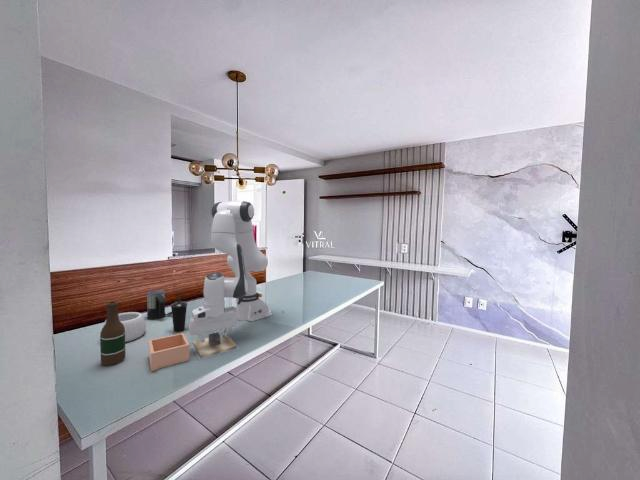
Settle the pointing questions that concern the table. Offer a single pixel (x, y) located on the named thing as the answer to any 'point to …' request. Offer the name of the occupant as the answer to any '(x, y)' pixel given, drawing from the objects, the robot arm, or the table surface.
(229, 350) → the slate mat
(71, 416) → the table surface
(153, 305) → the milk frother
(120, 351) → the beer bottle
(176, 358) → the open square planter box
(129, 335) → the mug
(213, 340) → the birch lid
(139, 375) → the table surface
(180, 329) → the drinking cup
